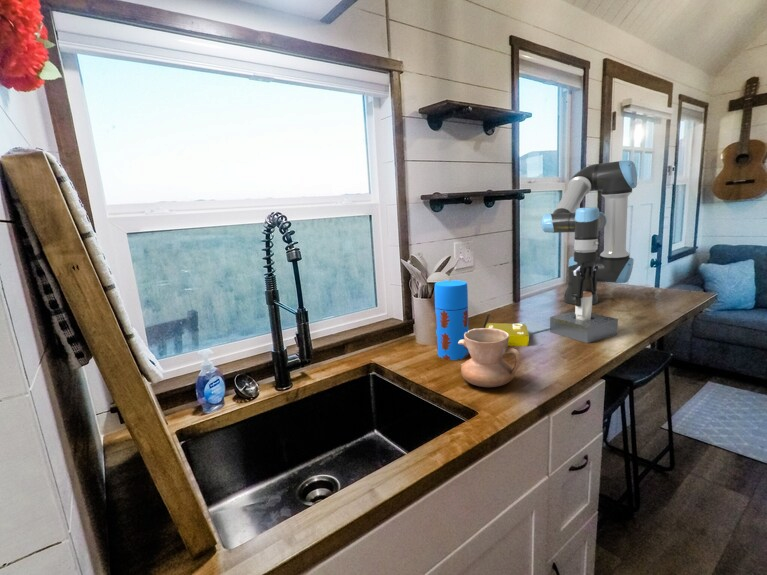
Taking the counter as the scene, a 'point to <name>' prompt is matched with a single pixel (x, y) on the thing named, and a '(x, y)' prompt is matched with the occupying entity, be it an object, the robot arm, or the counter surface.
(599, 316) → the block
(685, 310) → the counter surface
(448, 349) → the thermos
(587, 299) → the white cylinder
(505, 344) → the ceramic jug
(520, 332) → the element tile
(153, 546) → the counter surface
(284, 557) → the counter surface
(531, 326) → the mat
